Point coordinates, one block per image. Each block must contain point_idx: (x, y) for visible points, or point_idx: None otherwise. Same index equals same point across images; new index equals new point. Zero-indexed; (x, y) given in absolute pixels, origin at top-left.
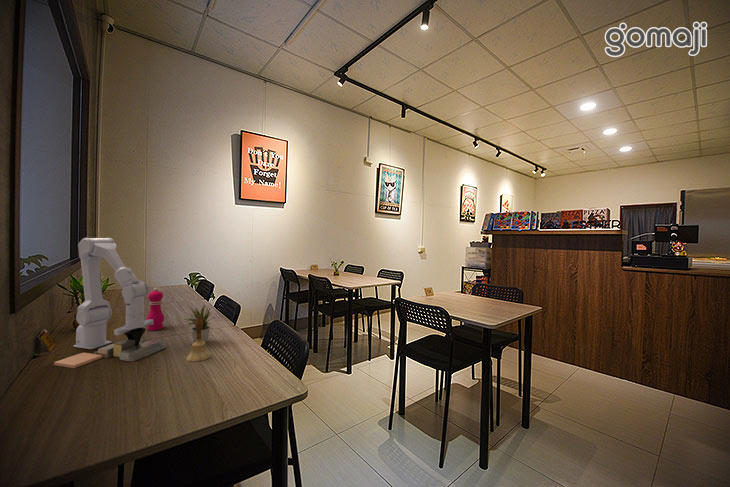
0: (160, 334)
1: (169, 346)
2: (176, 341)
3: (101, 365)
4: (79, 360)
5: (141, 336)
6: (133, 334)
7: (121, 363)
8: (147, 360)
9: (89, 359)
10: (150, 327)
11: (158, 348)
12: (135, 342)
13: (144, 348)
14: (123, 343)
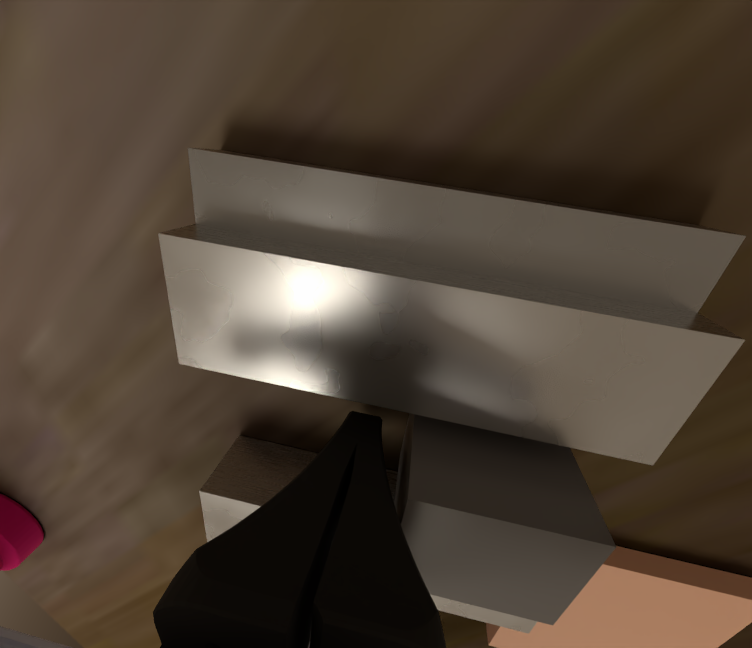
0: (35, 435)
1: (173, 143)
2: (37, 182)
3: (737, 454)
4: (655, 614)
5: (289, 491)
6: (433, 620)
7: (726, 320)
8: (683, 42)
9: (642, 578)
10: (14, 544)
11: (321, 168)
12: (382, 465)
13: (463, 279)
14: (569, 548)
